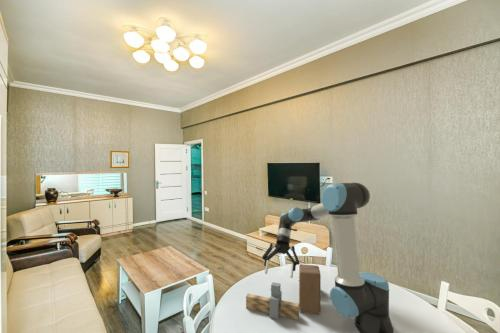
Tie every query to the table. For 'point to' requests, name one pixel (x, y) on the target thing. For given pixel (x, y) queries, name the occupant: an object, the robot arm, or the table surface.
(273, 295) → the grey stepped block
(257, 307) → the oak slotted plate
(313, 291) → the wooden block
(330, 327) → the table surface
